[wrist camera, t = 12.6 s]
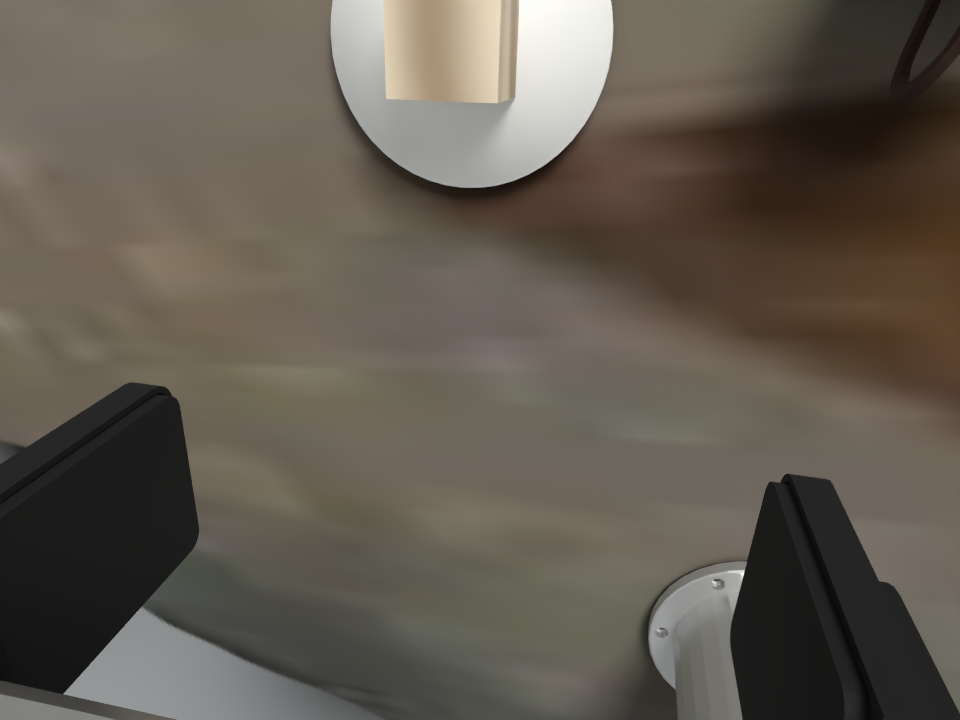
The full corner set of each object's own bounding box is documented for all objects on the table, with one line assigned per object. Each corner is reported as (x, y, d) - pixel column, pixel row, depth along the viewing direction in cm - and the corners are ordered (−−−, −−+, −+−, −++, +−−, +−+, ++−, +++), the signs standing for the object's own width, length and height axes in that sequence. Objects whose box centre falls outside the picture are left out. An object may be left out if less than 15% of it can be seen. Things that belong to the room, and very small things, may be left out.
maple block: (520, -18, 32) (502, -31, 27) (515, 97, 34) (497, 103, 29) (416, -19, 32) (382, -31, 28) (417, 93, 34) (386, 99, 30)
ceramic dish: (631, -126, 30) (631, -132, 29) (596, 194, 36) (595, 198, 35) (333, -127, 32) (323, -133, 31) (345, 174, 38) (336, 177, 37)
